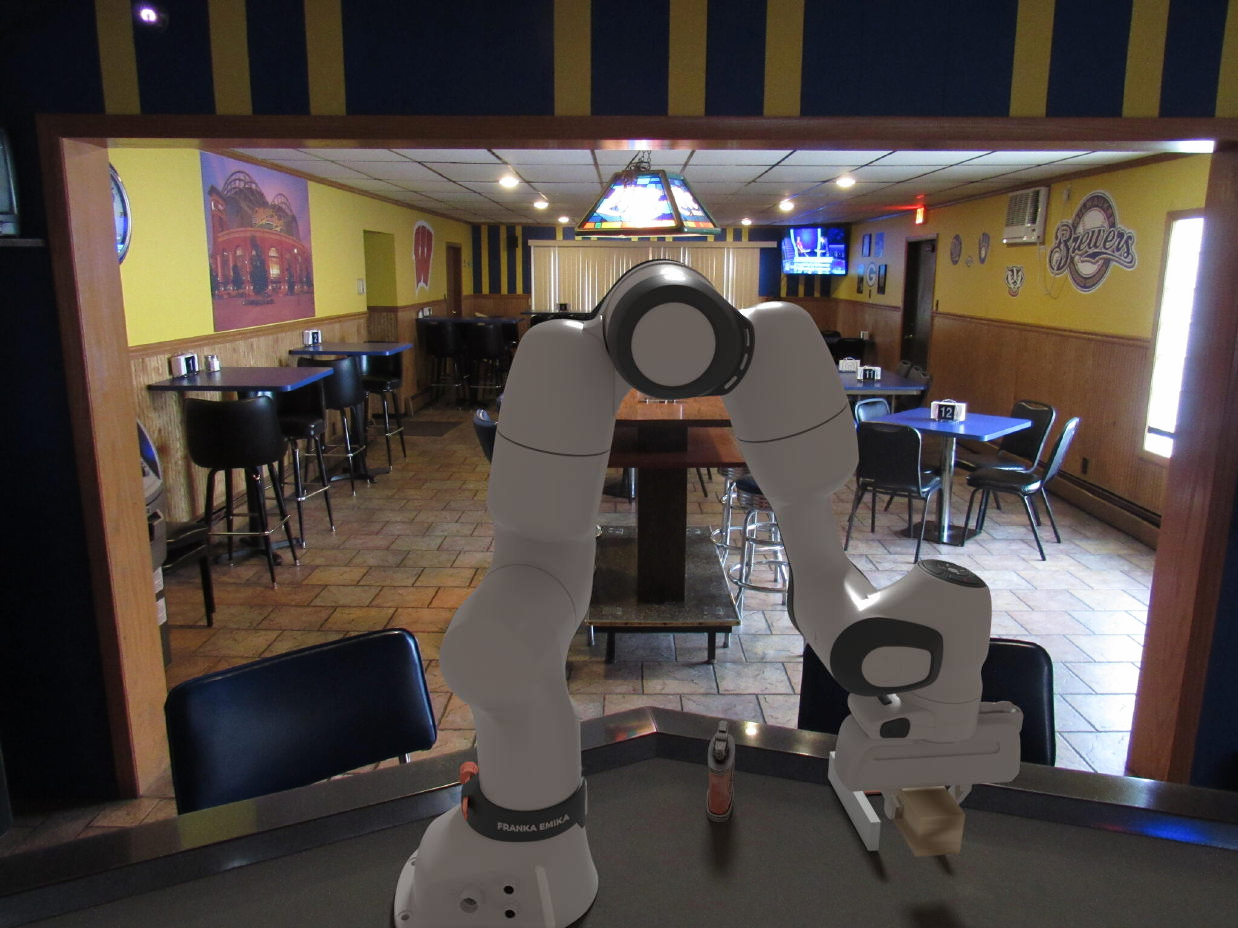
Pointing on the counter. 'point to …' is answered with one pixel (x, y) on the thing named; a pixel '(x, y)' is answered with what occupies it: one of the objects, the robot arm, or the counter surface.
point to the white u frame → (857, 809)
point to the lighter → (720, 774)
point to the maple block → (930, 821)
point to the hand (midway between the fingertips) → (920, 813)
